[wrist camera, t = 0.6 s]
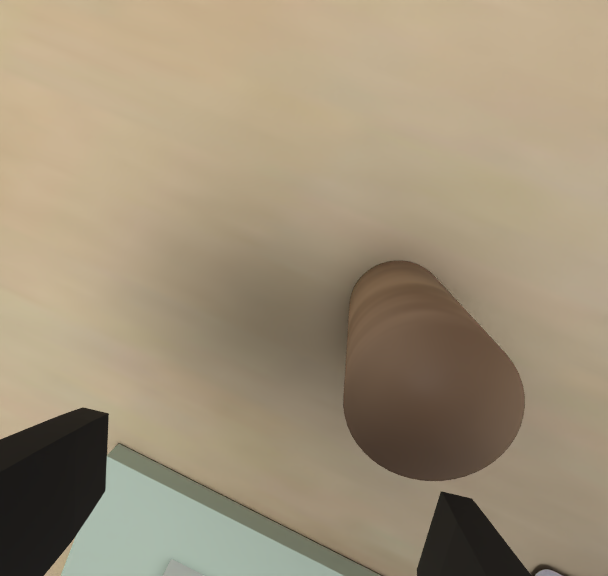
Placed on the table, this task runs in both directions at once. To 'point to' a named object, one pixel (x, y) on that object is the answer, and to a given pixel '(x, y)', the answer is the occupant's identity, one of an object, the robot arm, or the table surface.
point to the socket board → (187, 531)
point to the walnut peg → (425, 378)
